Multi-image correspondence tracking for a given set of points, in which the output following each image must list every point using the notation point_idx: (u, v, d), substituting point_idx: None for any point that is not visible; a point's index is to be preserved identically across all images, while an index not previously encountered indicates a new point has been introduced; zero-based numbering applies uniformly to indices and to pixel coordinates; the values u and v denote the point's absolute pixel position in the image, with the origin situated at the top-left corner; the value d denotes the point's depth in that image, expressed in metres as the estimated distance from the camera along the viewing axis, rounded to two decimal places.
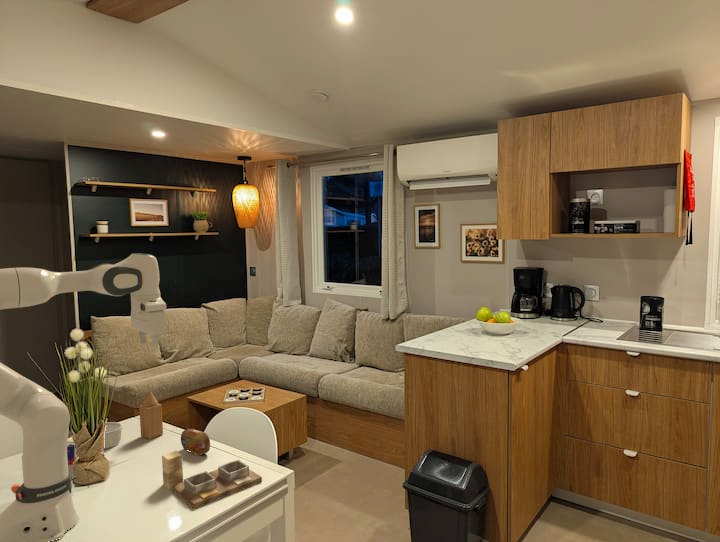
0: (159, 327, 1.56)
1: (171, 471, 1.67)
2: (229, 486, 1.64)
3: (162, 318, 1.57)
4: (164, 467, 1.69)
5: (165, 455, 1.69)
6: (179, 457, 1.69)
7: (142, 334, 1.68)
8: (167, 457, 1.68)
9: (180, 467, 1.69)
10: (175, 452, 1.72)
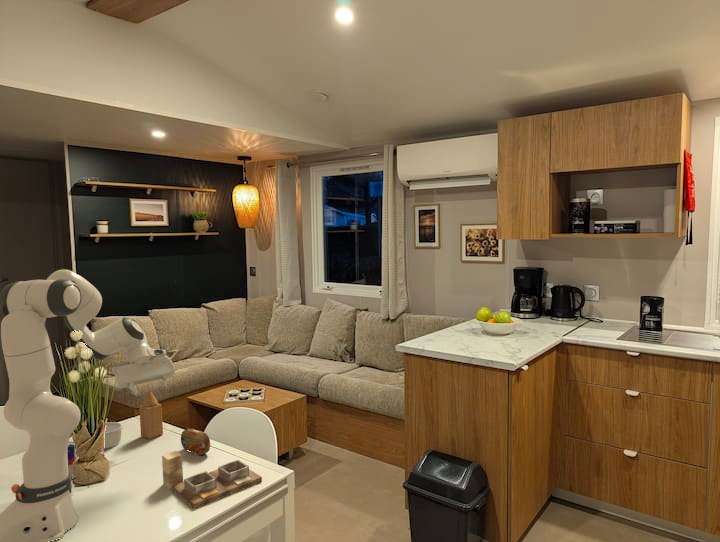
0: None
1: (171, 471, 1.67)
2: (229, 486, 1.64)
3: None
4: (164, 467, 1.69)
5: (165, 455, 1.69)
6: (179, 457, 1.69)
7: None
8: (167, 457, 1.68)
9: (180, 467, 1.69)
10: (175, 452, 1.72)
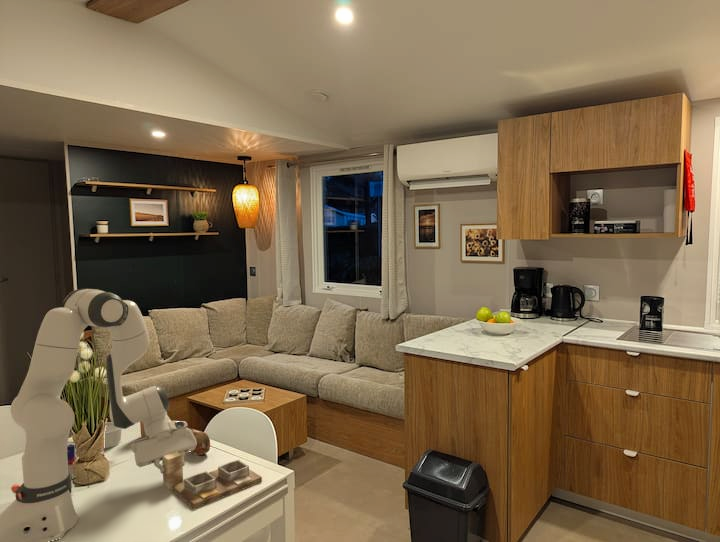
0: None
1: (171, 471, 1.67)
2: (229, 486, 1.64)
3: None
4: None
5: (165, 455, 1.69)
6: (179, 457, 1.69)
7: None
8: (167, 457, 1.68)
9: (180, 467, 1.69)
10: (175, 452, 1.72)
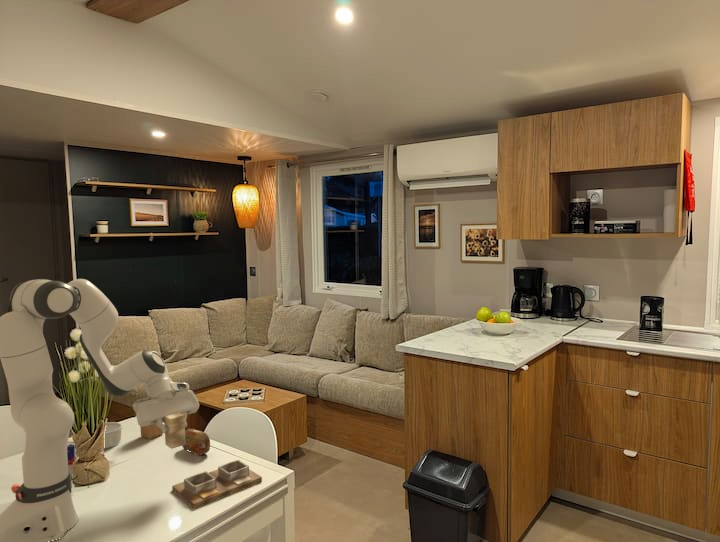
0: None
1: (173, 431, 1.65)
2: (229, 486, 1.64)
3: None
4: None
5: (167, 415, 1.67)
6: (181, 417, 1.67)
7: None
8: (169, 417, 1.66)
9: (182, 427, 1.67)
10: (177, 413, 1.70)
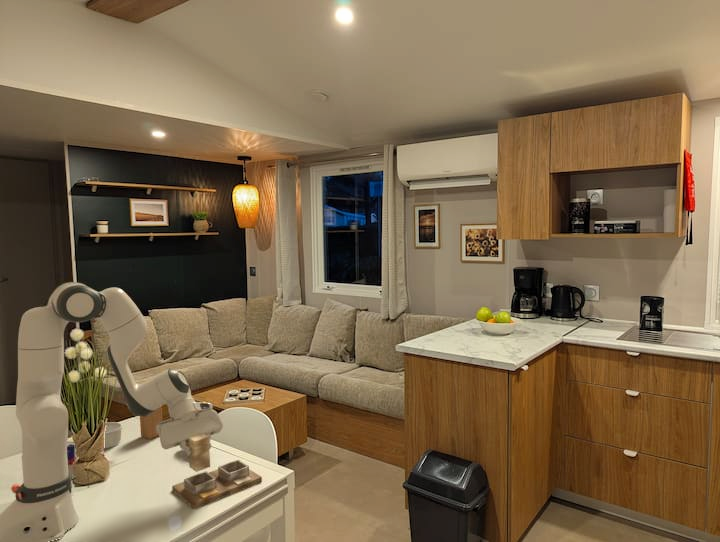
0: None
1: (197, 454, 1.60)
2: (229, 486, 1.64)
3: None
4: None
5: (191, 437, 1.63)
6: (206, 439, 1.62)
7: None
8: (193, 439, 1.61)
9: (207, 449, 1.63)
10: (201, 434, 1.65)
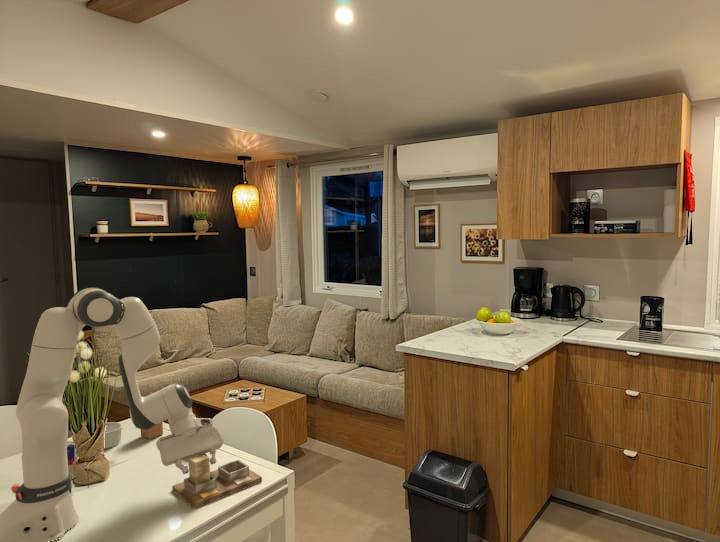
0: None
1: (198, 475, 1.61)
2: (229, 486, 1.64)
3: None
4: (191, 470, 1.62)
5: (192, 458, 1.63)
6: (206, 460, 1.63)
7: None
8: (194, 460, 1.62)
9: (207, 470, 1.63)
10: (202, 455, 1.65)
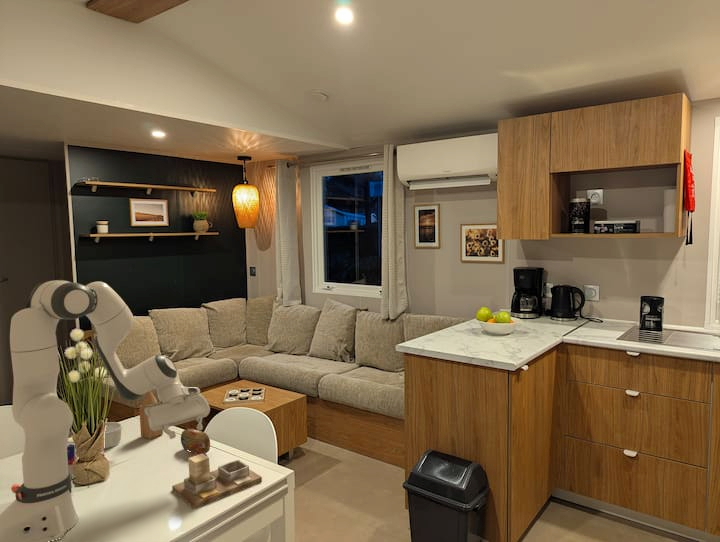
0: None
1: (198, 475, 1.61)
2: (229, 486, 1.64)
3: None
4: (191, 470, 1.62)
5: (192, 458, 1.63)
6: (206, 460, 1.63)
7: None
8: (194, 460, 1.62)
9: (207, 470, 1.63)
10: (202, 455, 1.65)
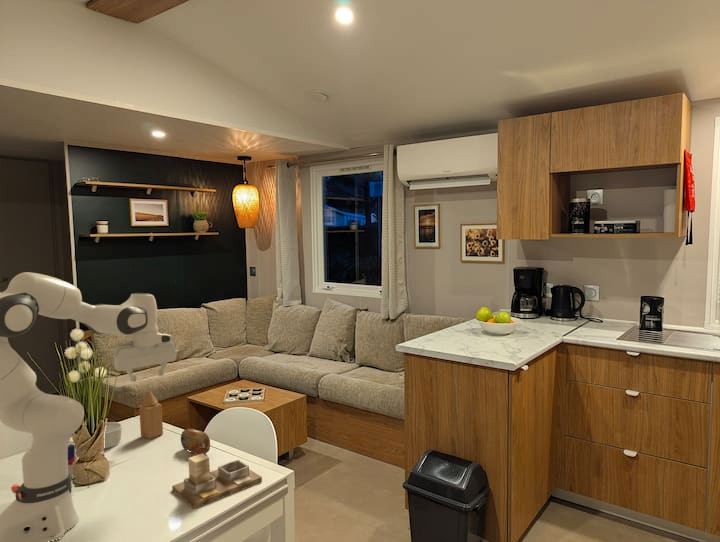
0: None
1: (198, 475, 1.61)
2: (229, 486, 1.64)
3: None
4: (191, 470, 1.62)
5: (192, 458, 1.63)
6: (206, 460, 1.63)
7: None
8: (194, 460, 1.62)
9: (207, 470, 1.63)
10: (202, 455, 1.65)
